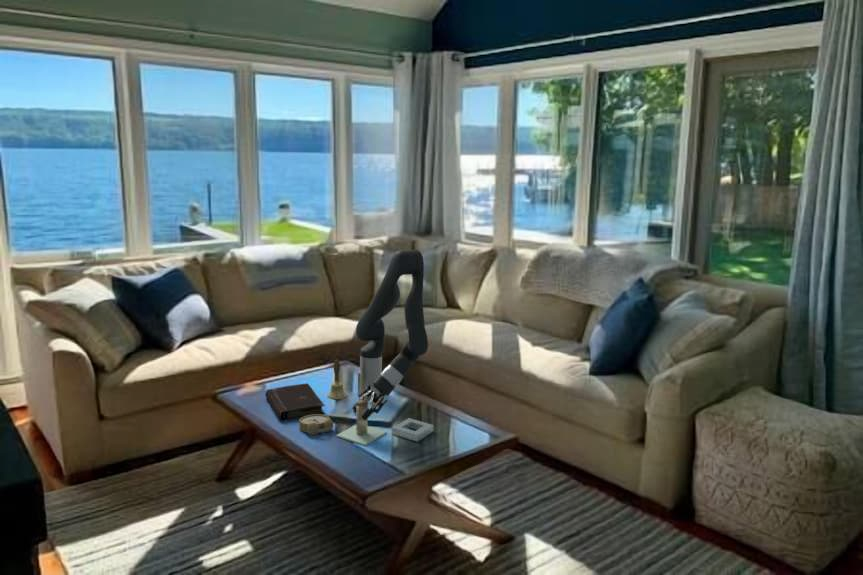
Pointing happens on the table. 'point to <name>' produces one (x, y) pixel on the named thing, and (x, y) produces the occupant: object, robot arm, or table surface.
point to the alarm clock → (315, 424)
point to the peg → (360, 422)
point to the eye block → (405, 431)
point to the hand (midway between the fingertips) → (358, 414)
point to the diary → (294, 401)
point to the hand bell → (336, 385)
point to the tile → (361, 439)
